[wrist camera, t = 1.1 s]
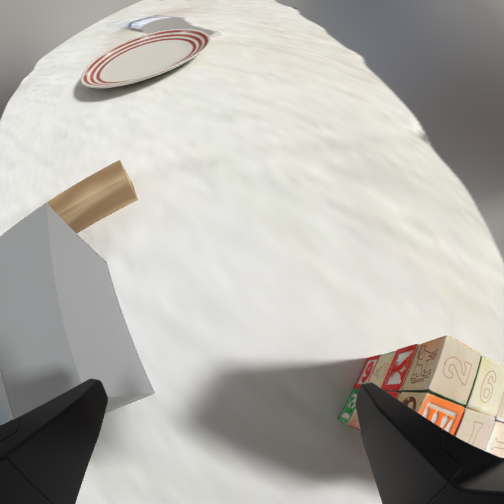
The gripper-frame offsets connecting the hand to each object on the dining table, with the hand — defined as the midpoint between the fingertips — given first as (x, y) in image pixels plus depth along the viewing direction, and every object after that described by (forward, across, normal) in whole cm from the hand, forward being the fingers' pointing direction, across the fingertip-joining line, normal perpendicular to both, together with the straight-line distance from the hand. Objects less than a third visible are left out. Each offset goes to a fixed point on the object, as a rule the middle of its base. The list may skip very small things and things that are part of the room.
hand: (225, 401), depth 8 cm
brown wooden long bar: (+22, +20, -3) cm, 30 cm away
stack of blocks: (+8, -18, +14) cm, 25 cm away
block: (+14, +14, +7) cm, 21 cm away
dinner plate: (+47, +20, -33) cm, 61 cm away
